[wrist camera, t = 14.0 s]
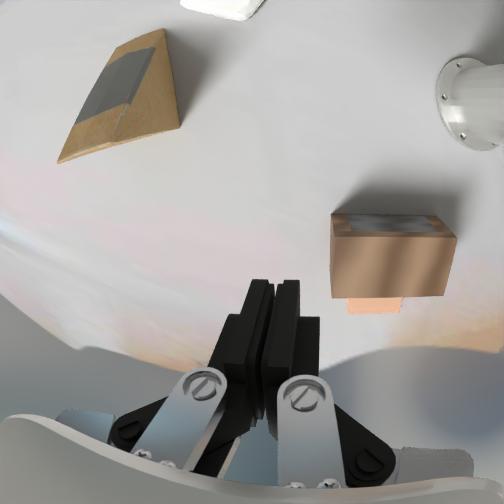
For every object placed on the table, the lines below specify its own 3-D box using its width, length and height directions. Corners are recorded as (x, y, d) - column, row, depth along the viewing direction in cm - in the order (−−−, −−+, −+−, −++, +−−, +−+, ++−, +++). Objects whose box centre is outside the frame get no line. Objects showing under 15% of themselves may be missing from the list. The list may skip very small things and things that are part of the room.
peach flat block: (406, 228, 35) (413, 237, 32) (395, 300, 40) (399, 312, 38) (350, 227, 37) (353, 237, 34) (346, 301, 42) (347, 313, 39)
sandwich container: (166, 26, 28) (96, -2, 15) (183, 127, 34) (114, 143, 21) (115, 47, 30) (38, 38, 17) (130, 141, 36) (55, 165, 23)
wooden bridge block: (436, 216, 33) (457, 237, 27) (427, 268, 36) (443, 295, 30) (330, 214, 36) (334, 236, 30) (329, 268, 40) (331, 298, 33)
